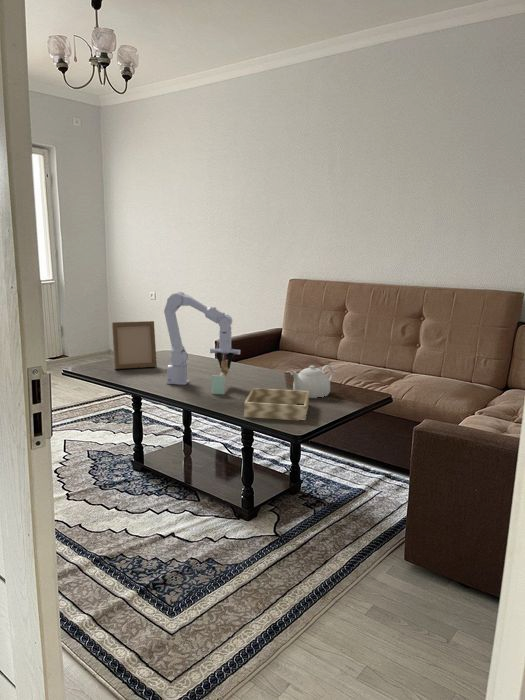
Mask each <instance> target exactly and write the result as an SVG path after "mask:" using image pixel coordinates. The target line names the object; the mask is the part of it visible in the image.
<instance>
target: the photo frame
mask: <svg viewBox="0 0 525 700" xmlns="http://www.w3.org/2000/svg"><path fill="white" fill-rule="evenodd" d="M111 324H112V325H111V326H112V327H111V329H112V343H113V356H114V357H113V360H114V370H121V369H136V368H138V367H139V368H151V367H152V368H154V367H157V365H158V364H157V362H158V361H157V350H156V349H157V348H156V333H155V321H154V320H151V321H124V322H123V321H116V322H112V323H111Z"/></svg>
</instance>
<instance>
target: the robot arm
mask: <svg viewBox="0 0 525 700" xmlns="http://www.w3.org/2000/svg"><path fill="white" fill-rule="evenodd" d="M184 306H185V307H187V306H188V307H189V306H190V307H192V308H194V309H195V310H197V311H199V312H201V313H203V314H204V316H205V318H206V319H208V320H209V321H212V322H214V323H215V324H216V325H217V324H218V326H219V335H218V336H219V342H218V343H219V348H210V349H209V354H215V357H216V358H217V361H218V363H219V368H220V369H221V361H222V360H224V358H223V357H224V356H223V355H224V354H227V360H228V369H229V370H230V368H231V364H232V361H233V358H234V356H235V355H241V349H234V348H232V324H233V318H232V316H231V315H229V314H226V313H225V312H221V311H220V310H218V309H217V307H215V306H209V307H207V306H206V305H205V304H203V303H202V302H200V301H199V300H197V299H195V298H194V297H192V296H190V295H189V294H186V293H184V292H182V291H178V292H175V293H172V294H170V295H169V297H168V298H167V300H166V304H165V307H164V308H163V309H164V310H163V311H164V312H163V314H164V317H165V321H166V327H167V332H168V335H169V340H170V344H171V351H170V354H171V355H170V361H171V364H168V365H167V368H166V384H167V385H182V386H183V385H184V386H186V385H187V384H188V383H189V382H190V379H188V363H187V360H188V358H189V354H188V352H187V351H186V349H185V346H184V345H183V342H182V338H181V334H180V333H181V332H180V328H179V324H178V319H177V315H176V312H177V311H178V310H179V308H181V307H184Z"/></svg>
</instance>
